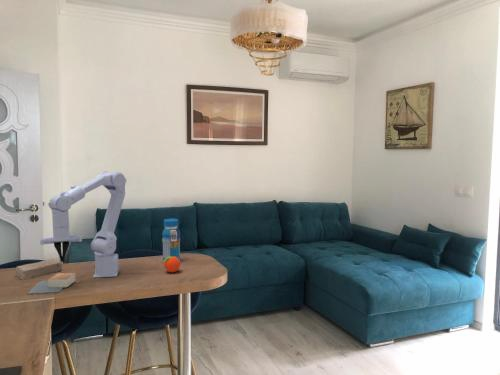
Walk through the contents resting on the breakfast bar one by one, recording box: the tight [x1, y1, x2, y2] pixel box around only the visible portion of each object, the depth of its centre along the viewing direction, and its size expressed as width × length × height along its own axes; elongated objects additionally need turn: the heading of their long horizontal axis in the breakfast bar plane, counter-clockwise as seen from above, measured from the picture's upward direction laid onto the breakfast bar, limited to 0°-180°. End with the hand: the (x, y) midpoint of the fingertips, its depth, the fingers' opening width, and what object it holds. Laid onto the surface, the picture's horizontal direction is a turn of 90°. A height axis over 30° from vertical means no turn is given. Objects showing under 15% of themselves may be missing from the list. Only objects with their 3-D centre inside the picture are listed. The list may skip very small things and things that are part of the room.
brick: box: [14, 258, 63, 280], centre depth 180 cm, size 17×8×5 cm, turn 140°
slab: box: [47, 272, 76, 288], centre depth 164 cm, size 3×8×7 cm
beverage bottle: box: [161, 218, 181, 262], centre depth 200 cm, size 8×8×20 cm
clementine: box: [162, 256, 181, 273], centre depth 182 cm, size 8×7×7 cm
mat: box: [27, 279, 64, 295], centre depth 162 cm, size 11×15×1 cm
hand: (62, 261), depth 162 cm, fingers closed
